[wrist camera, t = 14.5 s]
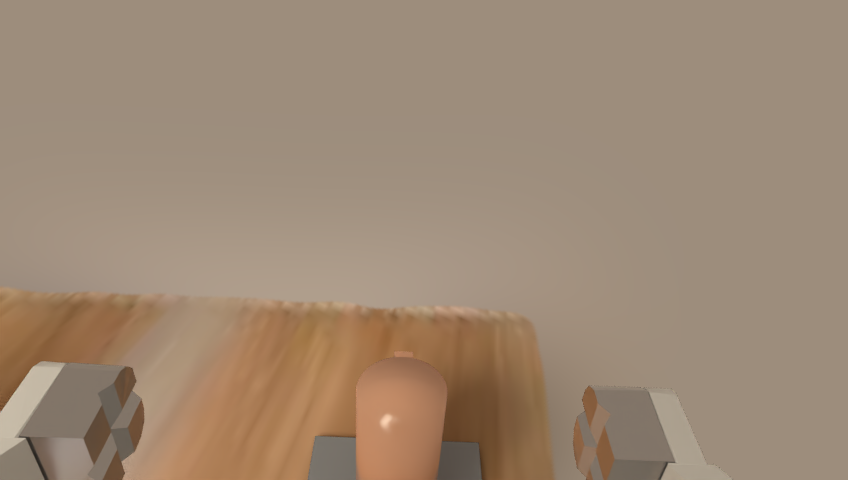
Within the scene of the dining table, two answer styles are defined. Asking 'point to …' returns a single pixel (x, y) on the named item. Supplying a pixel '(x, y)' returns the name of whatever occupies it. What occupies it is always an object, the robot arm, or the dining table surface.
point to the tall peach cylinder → (399, 419)
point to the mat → (338, 460)
